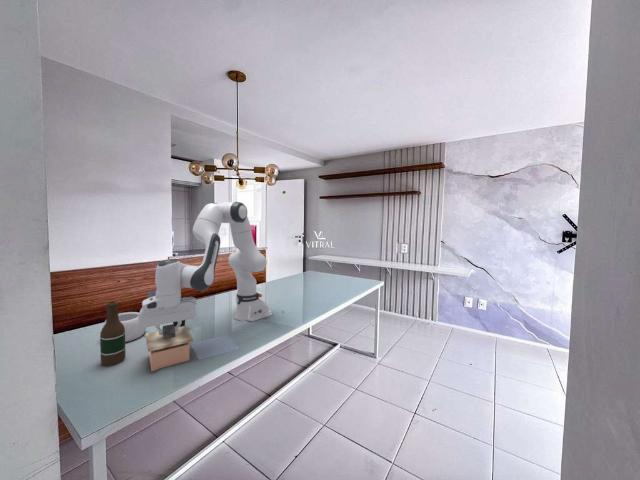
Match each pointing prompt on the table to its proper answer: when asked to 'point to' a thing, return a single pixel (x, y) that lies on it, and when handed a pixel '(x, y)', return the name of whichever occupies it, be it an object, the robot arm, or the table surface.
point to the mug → (131, 325)
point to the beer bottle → (112, 337)
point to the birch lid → (168, 338)
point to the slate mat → (213, 346)
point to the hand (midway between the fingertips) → (168, 332)
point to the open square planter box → (168, 356)
